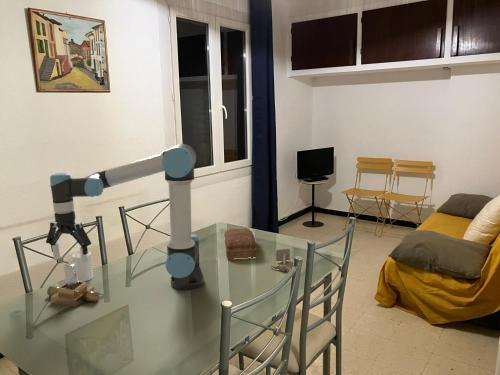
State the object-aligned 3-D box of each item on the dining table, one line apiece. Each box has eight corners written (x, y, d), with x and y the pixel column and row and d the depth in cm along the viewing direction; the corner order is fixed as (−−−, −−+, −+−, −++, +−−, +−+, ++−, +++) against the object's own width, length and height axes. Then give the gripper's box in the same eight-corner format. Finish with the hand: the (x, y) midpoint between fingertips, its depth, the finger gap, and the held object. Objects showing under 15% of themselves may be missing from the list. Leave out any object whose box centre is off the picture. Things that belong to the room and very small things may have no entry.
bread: (252, 241, 233) (252, 223, 231) (257, 260, 205) (257, 239, 202) (224, 242, 232) (223, 224, 230) (225, 261, 203) (225, 240, 201)
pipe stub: (82, 289, 165) (79, 263, 162) (74, 295, 160) (70, 268, 158) (72, 288, 166) (69, 262, 164) (63, 293, 161) (60, 267, 159)
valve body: (105, 294, 166) (104, 282, 165) (87, 308, 155) (86, 294, 154) (61, 288, 172) (59, 276, 171) (40, 301, 161) (38, 288, 160)
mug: (72, 285, 175) (69, 261, 173) (64, 280, 181) (61, 256, 178) (96, 277, 184) (94, 253, 181) (88, 272, 189) (86, 249, 187)
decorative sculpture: (289, 273, 188) (289, 259, 186) (269, 272, 189) (269, 258, 187) (290, 260, 203) (290, 247, 202) (271, 260, 205) (272, 247, 203)
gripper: (96, 210, 156) (102, 259, 161) (46, 207, 163) (52, 254, 167) (84, 215, 149) (90, 266, 154) (32, 212, 156) (39, 261, 160)
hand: (70, 260), depth 160 cm, fingers open, 13 cm apart
